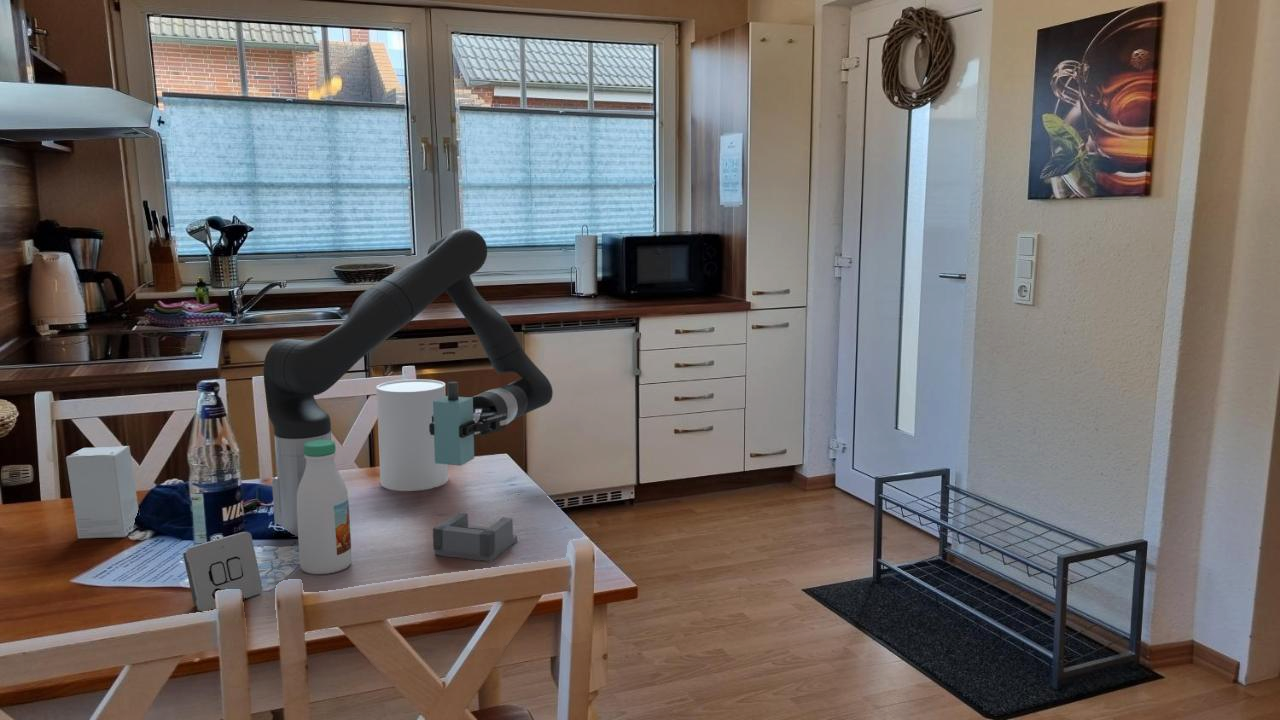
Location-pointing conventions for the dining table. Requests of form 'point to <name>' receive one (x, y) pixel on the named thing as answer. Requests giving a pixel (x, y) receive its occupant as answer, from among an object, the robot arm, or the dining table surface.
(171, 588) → the dining table surface
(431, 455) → the canister
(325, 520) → the milk bottle
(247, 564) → the electrical switch
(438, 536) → the socket
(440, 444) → the plug
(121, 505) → the skincare box
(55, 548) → the dining table surface
